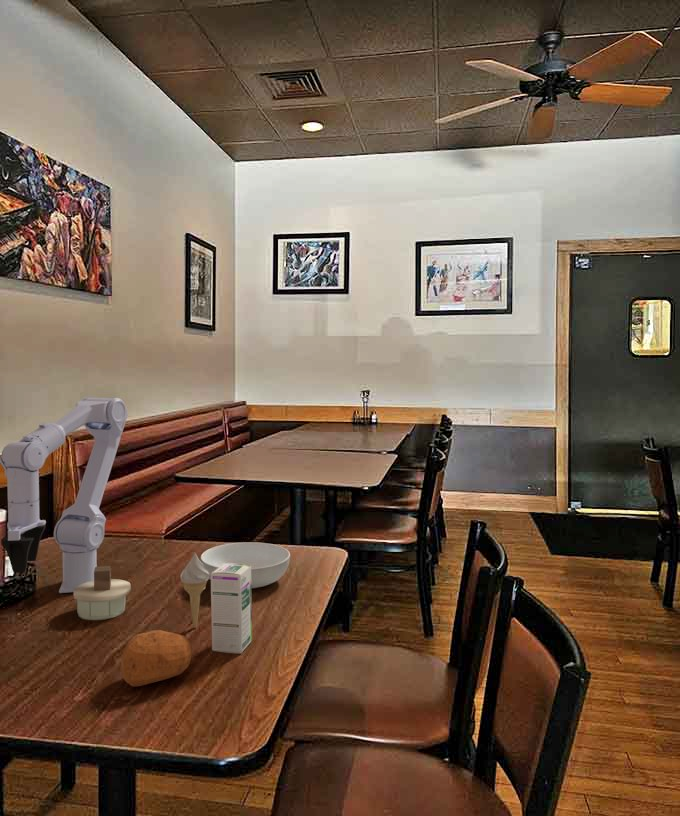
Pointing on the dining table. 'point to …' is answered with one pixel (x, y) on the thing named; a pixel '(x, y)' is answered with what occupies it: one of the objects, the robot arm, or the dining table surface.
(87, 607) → the bowl
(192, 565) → the ice cream cone
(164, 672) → the potato
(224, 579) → the syrup box
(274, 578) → the serving bowl
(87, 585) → the lid
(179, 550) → the dining table surface
